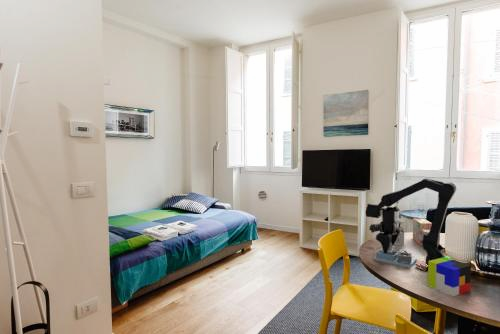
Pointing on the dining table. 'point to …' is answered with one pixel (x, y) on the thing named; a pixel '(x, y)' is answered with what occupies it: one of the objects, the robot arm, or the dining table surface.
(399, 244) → the french press
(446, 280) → the puzzle toy
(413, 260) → the chassis
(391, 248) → the engine block
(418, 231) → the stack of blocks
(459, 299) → the dining table surface
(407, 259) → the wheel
